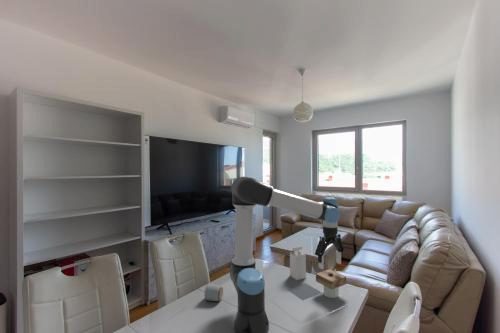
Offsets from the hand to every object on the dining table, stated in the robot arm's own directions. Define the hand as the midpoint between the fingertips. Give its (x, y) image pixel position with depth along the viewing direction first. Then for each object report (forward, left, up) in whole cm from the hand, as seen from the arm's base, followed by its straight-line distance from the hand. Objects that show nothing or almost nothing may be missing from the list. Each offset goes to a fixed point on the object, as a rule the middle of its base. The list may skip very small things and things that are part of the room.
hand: (329, 265), depth 130 cm
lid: (0, 0, -9) cm, 9 cm away
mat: (-10, +10, -16) cm, 21 cm away
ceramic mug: (-54, +30, -16) cm, 64 cm away
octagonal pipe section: (0, 0, -16) cm, 16 cm away
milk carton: (-1, +25, -16) cm, 30 cm away
